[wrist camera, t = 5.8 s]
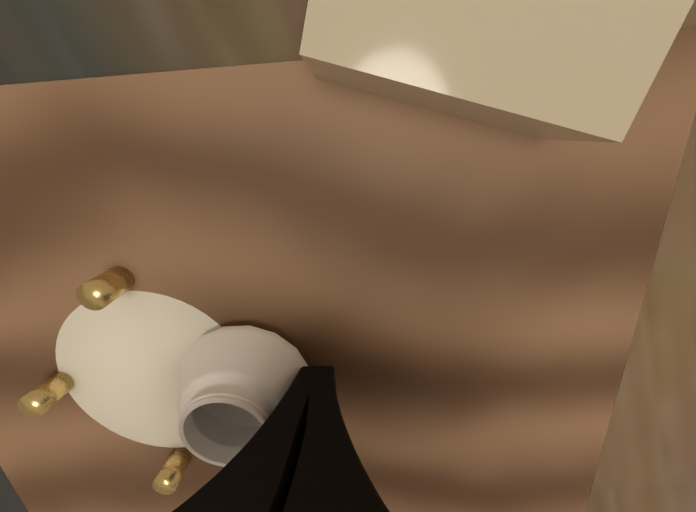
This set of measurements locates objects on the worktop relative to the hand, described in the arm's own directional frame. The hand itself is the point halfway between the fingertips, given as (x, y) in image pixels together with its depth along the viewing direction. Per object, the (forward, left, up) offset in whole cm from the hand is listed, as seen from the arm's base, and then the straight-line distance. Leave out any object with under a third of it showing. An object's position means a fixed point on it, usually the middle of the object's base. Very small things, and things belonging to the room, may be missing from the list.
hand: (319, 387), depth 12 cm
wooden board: (0, +2, -2) cm, 3 cm away
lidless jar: (0, +3, -1) cm, 3 cm away
